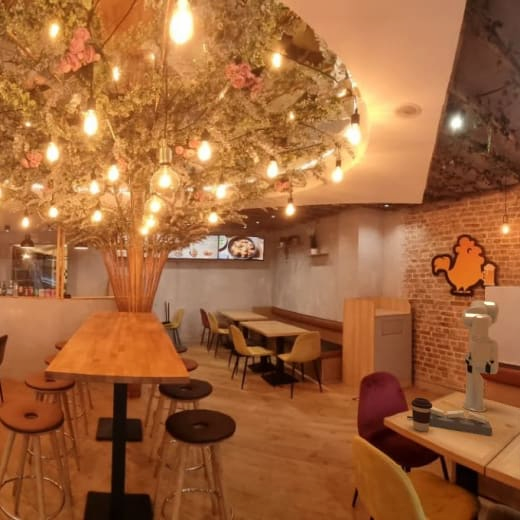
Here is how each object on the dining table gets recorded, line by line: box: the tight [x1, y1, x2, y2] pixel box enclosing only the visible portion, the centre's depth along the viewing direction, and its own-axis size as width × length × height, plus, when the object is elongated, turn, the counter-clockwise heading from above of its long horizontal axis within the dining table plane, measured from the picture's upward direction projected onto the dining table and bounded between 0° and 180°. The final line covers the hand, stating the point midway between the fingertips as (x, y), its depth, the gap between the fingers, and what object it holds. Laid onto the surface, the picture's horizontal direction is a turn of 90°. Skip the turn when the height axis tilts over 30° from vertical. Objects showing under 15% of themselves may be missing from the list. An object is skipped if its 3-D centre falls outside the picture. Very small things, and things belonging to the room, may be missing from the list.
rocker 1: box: [431, 406, 445, 417], centre depth 221 cm, size 5×8×2 cm, turn 69°
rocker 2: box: [467, 410, 487, 424], centre depth 214 cm, size 5×8×2 cm, turn 69°
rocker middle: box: [446, 409, 466, 418], centre depth 218 cm, size 5×8×2 cm, turn 69°
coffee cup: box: [411, 397, 433, 432], centre depth 211 cm, size 10×10×15 cm
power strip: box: [406, 413, 493, 437], centre depth 217 cm, size 10×40×5 cm, turn 69°
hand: (478, 372), depth 212 cm, fingers open, 9 cm apart
